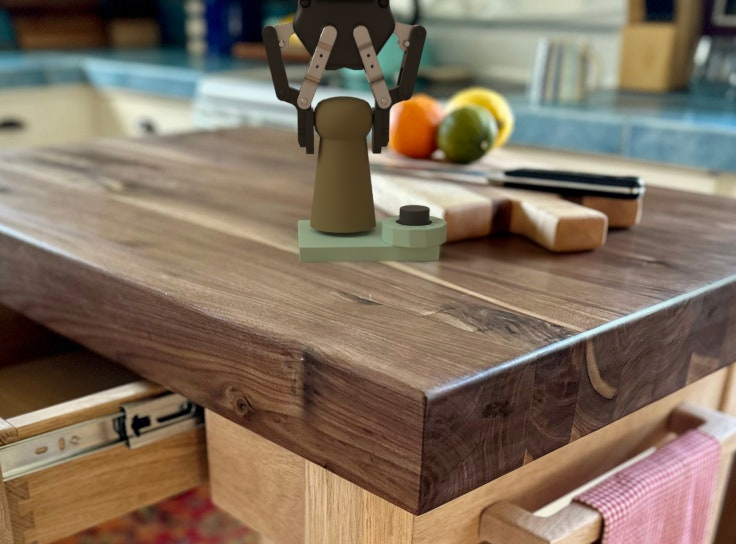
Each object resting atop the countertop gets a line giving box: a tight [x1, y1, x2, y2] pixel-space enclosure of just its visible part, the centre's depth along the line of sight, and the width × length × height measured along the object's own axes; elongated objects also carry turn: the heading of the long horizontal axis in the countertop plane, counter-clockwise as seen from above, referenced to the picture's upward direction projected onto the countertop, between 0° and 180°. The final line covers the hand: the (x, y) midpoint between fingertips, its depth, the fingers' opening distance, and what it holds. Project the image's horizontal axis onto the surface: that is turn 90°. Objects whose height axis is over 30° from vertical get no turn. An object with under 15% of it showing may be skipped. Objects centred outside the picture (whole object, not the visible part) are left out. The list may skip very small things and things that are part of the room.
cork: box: [309, 95, 377, 233], centre depth 77 cm, size 6×6×11 cm
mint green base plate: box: [297, 214, 448, 263], centre depth 78 cm, size 13×11×3 cm
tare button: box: [398, 204, 431, 226], centre depth 75 cm, size 3×3×2 cm
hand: (343, 151), depth 76 cm, fingers closed on cork, 5 cm apart
